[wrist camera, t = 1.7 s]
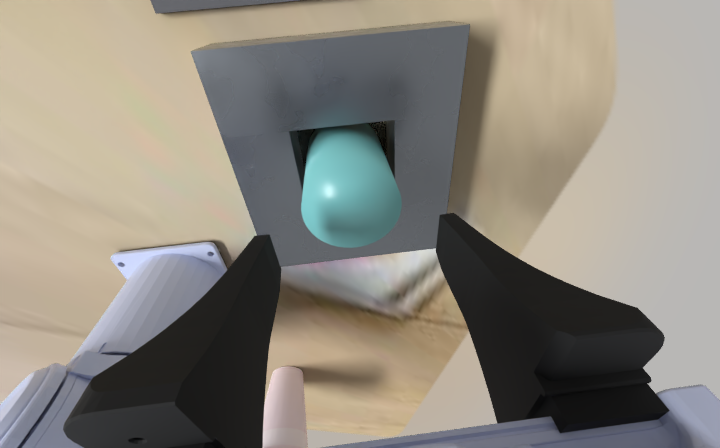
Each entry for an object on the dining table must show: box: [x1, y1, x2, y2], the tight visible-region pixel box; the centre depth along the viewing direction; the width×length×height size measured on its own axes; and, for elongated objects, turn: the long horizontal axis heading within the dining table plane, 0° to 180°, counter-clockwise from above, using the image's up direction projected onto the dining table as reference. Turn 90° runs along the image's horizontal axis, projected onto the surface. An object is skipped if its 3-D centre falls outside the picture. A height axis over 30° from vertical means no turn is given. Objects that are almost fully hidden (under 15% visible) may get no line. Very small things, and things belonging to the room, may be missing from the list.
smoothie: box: [263, 366, 308, 448], centre depth 31 cm, size 6×6×14 cm
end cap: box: [301, 123, 402, 248], centre depth 18 cm, size 5×5×7 cm
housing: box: [191, 21, 470, 267], centre depth 19 cm, size 14×13×3 cm
